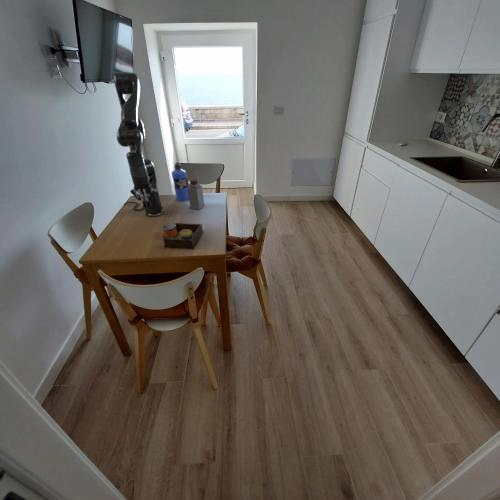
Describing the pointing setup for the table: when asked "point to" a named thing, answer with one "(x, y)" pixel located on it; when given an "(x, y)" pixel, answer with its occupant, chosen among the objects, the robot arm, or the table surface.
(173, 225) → the tin can
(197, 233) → the dark brown tray
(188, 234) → the tea tin
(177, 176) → the water bottle
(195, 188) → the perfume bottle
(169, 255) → the table surface
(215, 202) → the table surface
